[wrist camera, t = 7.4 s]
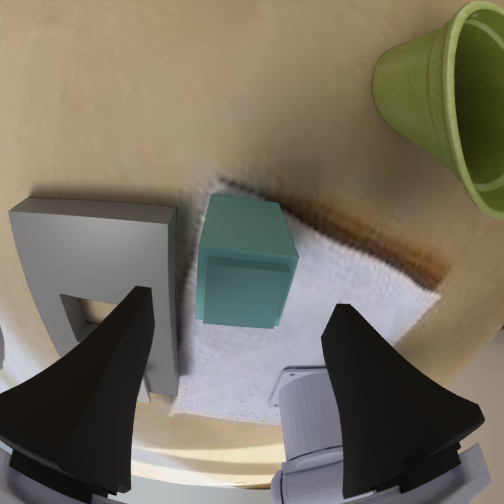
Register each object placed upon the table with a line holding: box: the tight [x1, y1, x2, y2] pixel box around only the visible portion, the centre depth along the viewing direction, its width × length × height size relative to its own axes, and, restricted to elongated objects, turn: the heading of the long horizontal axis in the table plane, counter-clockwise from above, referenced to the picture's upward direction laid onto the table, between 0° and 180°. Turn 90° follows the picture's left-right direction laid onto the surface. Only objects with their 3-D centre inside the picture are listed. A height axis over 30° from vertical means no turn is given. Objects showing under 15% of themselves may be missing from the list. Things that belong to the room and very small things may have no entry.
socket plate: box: [8, 198, 180, 396], centre depth 18 cm, size 12×18×2 cm, turn 171°
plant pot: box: [372, 1, 504, 219], centre depth 9 cm, size 9×9×9 cm
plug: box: [195, 194, 299, 329], centre depth 14 cm, size 4×4×7 cm
